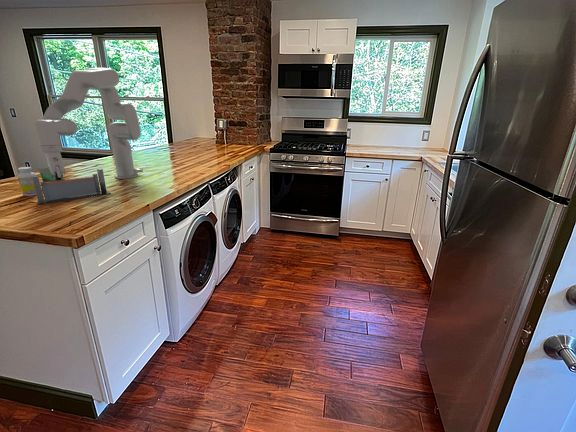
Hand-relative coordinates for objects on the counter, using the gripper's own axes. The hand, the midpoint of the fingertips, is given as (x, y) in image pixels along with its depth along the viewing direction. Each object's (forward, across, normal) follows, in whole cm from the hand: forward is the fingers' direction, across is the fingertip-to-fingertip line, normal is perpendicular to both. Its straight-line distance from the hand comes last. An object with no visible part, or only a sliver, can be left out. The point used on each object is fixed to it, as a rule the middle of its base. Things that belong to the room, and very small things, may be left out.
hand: (60, 188), depth 142 cm
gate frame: (+4, -5, -4) cm, 8 cm away
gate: (+3, -5, -4) cm, 7 cm away
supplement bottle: (+4, +13, +10) cm, 17 cm away
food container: (+4, +25, -2) cm, 26 cm away
